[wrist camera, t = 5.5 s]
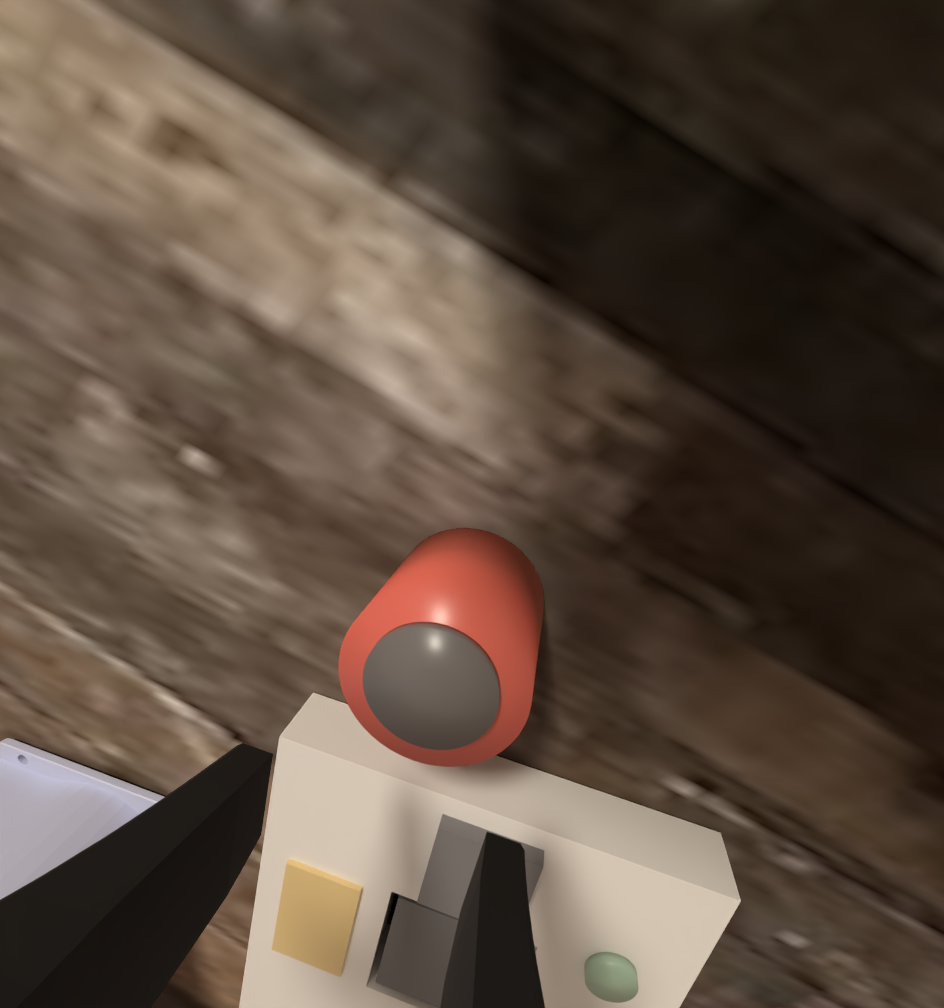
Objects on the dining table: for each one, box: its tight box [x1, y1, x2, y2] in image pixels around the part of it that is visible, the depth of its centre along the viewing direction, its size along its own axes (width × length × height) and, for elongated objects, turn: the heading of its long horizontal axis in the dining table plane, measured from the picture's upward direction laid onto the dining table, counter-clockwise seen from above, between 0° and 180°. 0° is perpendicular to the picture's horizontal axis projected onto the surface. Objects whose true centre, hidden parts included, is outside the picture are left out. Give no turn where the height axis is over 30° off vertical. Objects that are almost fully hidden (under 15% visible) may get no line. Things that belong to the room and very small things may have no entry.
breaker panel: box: [239, 693, 741, 1008], centre depth 21 cm, size 16×16×3 cm
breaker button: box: [375, 895, 458, 1008], centre depth 21 cm, size 5×5×2 cm
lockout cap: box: [339, 528, 544, 767], centre depth 16 cm, size 5×5×5 cm
